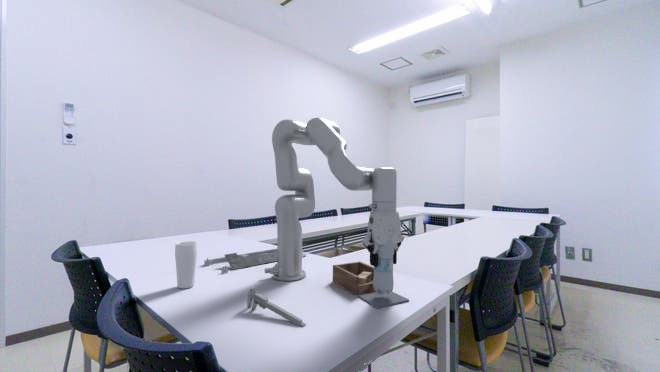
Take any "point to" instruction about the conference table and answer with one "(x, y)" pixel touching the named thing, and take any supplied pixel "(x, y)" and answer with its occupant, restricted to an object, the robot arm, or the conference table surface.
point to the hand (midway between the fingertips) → (383, 263)
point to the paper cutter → (245, 259)
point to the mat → (383, 299)
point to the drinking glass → (185, 263)
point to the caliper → (270, 307)
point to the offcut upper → (365, 277)
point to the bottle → (384, 268)
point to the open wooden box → (353, 277)
